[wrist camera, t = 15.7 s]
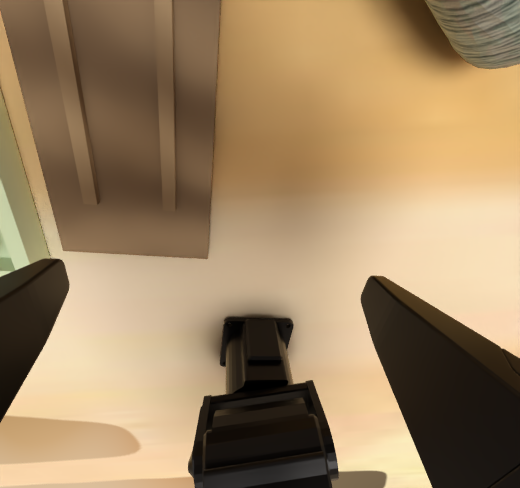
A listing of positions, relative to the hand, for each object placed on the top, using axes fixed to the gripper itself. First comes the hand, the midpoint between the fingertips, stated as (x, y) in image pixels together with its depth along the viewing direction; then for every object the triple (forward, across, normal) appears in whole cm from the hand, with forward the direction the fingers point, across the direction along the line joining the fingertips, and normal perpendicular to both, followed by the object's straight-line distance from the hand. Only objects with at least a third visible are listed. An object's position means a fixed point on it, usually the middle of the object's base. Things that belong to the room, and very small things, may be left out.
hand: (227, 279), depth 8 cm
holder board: (+12, +6, -4) cm, 14 cm away
